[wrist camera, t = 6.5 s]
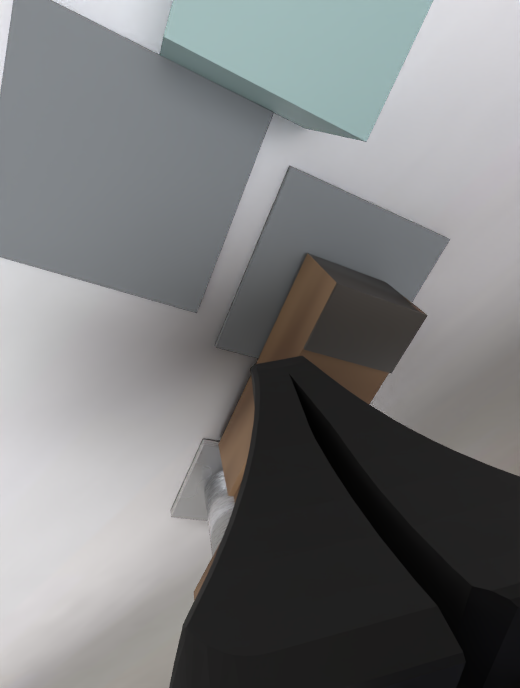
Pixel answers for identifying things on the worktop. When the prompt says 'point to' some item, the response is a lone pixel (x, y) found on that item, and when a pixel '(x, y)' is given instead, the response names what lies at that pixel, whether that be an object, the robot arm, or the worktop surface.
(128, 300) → the worktop surface
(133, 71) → the seat pad
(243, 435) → the leg
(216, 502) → the flanged metal stem
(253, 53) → the block
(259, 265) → the foot pad
